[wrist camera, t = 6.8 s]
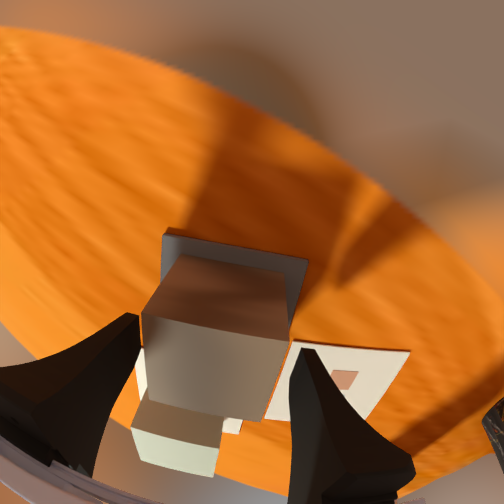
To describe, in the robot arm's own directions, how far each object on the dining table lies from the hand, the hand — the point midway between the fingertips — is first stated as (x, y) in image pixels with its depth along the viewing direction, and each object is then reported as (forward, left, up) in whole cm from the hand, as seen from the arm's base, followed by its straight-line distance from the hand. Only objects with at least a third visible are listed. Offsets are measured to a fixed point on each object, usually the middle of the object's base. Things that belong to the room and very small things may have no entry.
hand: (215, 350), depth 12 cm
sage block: (-8, +2, -3) cm, 9 cm away
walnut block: (0, 0, -3) cm, 3 cm away
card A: (-5, -8, -3) cm, 10 cm away
